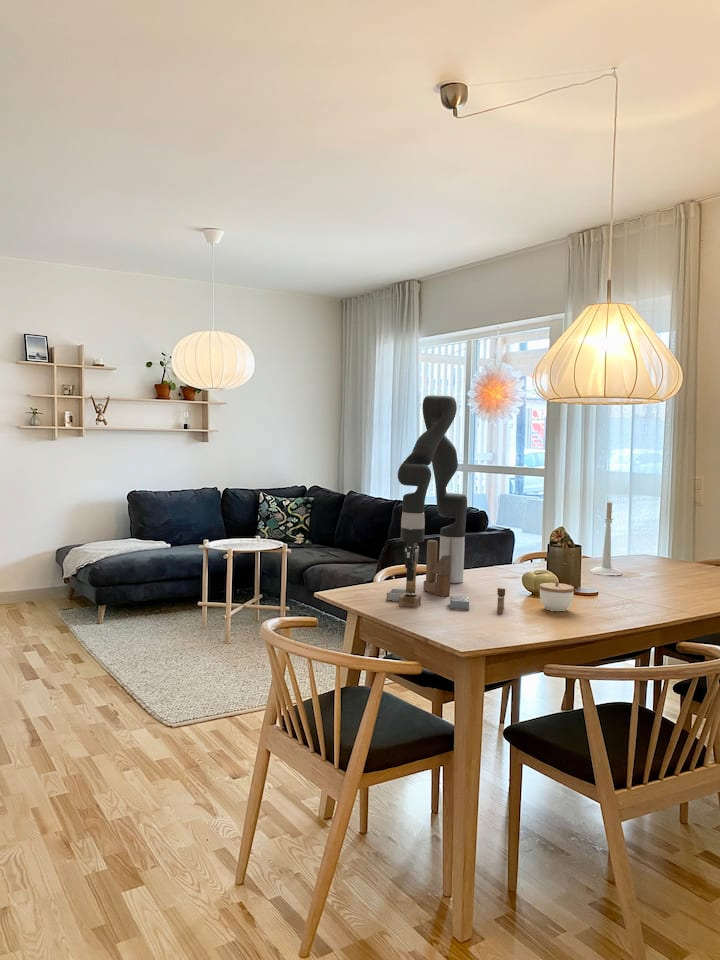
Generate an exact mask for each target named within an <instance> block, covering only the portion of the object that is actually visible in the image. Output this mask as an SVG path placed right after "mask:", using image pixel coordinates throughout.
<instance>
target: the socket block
mask: <svg viewBox="0 0 720 960" xmlns="http://www.w3.org/2000/svg"><path fill="white" fill-rule="evenodd" d="M421 603H422V594H419V593H412V594H407V593H403V594H402V595H401V596H400V597H399V602H398V607H403V606H407V607H406V608H414V607H418V606H419V607H420V605H421ZM419 607H418V608H419Z"/></svg>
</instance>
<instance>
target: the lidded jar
mask: <svg viewBox="0 0 720 960" xmlns="http://www.w3.org/2000/svg"><path fill="white" fill-rule="evenodd" d="M574 592H575V587H574V586H573V585H570V584H566V583H560V582H559V580H555V581H554V582H544V583H543V582H542V583H540V584H539V599H540V602H541V604H542V605H543V607H544V608H545V609H547V611H548V610H550V611H549V612H553V611H564V612H566V611H565V610H568V609H569V608H570V606H571V605H572V603H573V601H574V594H575V593H574Z"/></svg>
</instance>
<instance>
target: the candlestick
mask: <svg viewBox="0 0 720 960" xmlns="http://www.w3.org/2000/svg"><path fill="white" fill-rule="evenodd" d="M612 511H613V502H611V501H607V502H606V517H604V520H605V522H604V523H605V524H606V525H605V530H604V531H605V532H604V534H605V535H604V541H603V551H602V559H601V560H602V561H601V566H596V567H593V568H591V569H590V570H589V572H590V571H592V572H597V573H620V572H622V571H621V570H620V569H618V568H616V567H612V555H611V553H612V548H611V547H612V545H611V544H612V532H611V531H612V526H611V525H612V523H613V520H614V518H612V515H613V514H612Z"/></svg>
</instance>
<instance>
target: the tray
mask: <svg viewBox="0 0 720 960" xmlns="http://www.w3.org/2000/svg"><path fill="white" fill-rule="evenodd" d="M403 593H406V588H390V589H388V591H387V592H386V599H385V601H387V600H392V601H391V602H398V601H399V597H400V596H401V595H402V594H403ZM407 594H413V593H407Z"/></svg>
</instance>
